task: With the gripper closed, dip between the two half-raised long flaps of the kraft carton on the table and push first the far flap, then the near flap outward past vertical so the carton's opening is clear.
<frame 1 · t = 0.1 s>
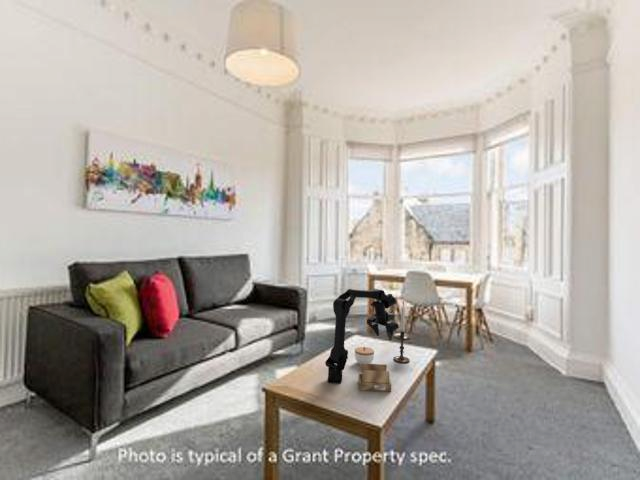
hand: (384, 338, 192), 15 cm above the table, tool pointing down, fingers open, 9 cm apart
carton: (374, 386, 167), on the table
candlestick: (401, 360, 201), on the table
lidded jar: (363, 364, 195), on the table
near flap: (375, 376, 162), point 7 cm above the table, hinge at 72.0°
far flap: (373, 368, 171), point 7 cm above the table, hinge at 72.0°
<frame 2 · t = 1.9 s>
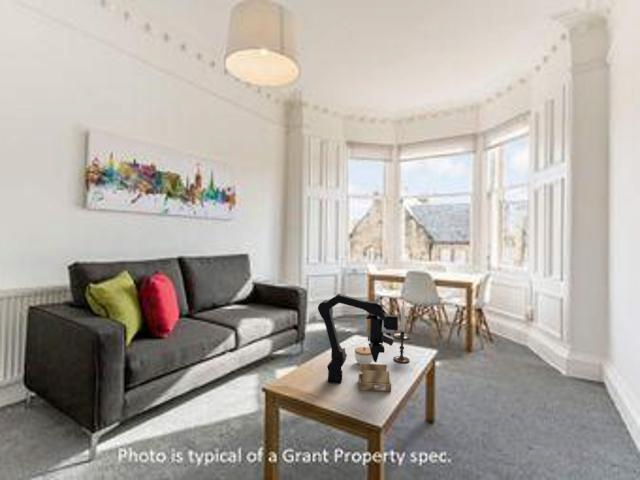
hand: (375, 361, 166), 12 cm above the table, tool pointing down, fingers closed
nothing on the table moved.
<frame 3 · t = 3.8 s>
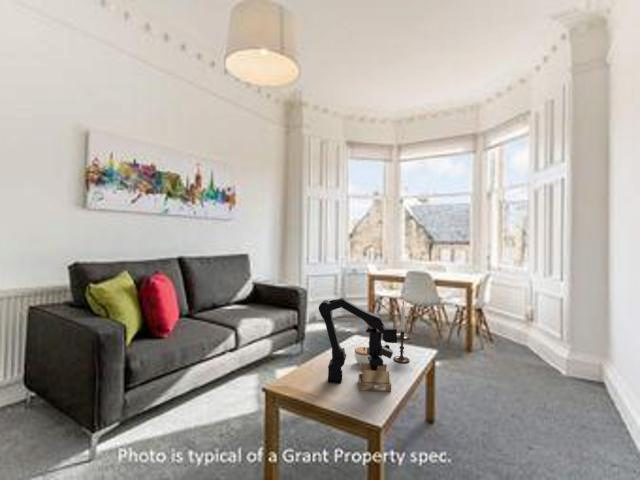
hand: (374, 373, 169), 5 cm above the table, tool pointing down, fingers closed
far flap: (373, 368, 171), point 7 cm above the table, hinge at 75.9°, touching gripper
everything else where it was.
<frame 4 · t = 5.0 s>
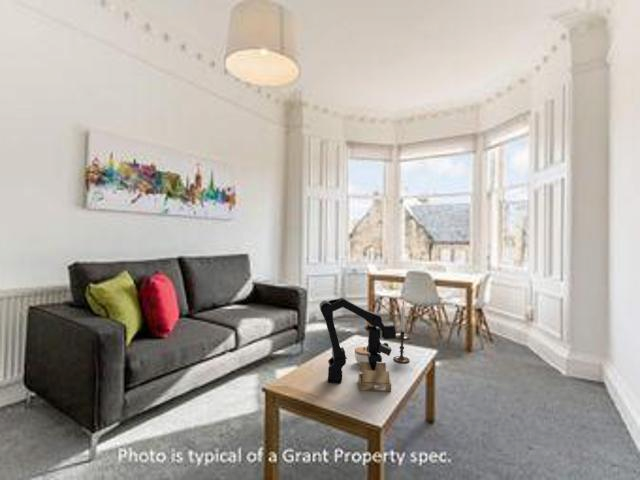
hand: (373, 370, 173), 5 cm above the table, tool pointing down, fingers closed, pressing on far flap
far flap: (373, 367, 174), point 6 cm above the table, hinge at 125.5°, touching gripper
everything else where it was.
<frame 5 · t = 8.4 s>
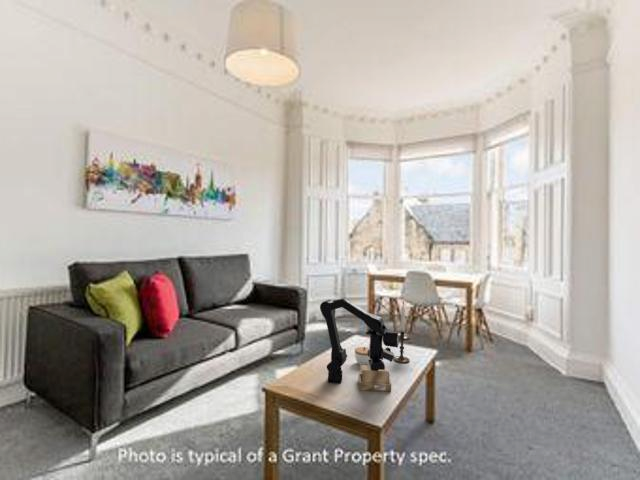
hand: (375, 377, 165), 5 cm above the table, tool pointing down, fingers closed
near flap: (375, 376, 162), point 7 cm above the table, hinge at 75.3°, touching gripper
far flap: (372, 369, 175), point 5 cm above the table, hinge at 158.0°
everything else where it was.
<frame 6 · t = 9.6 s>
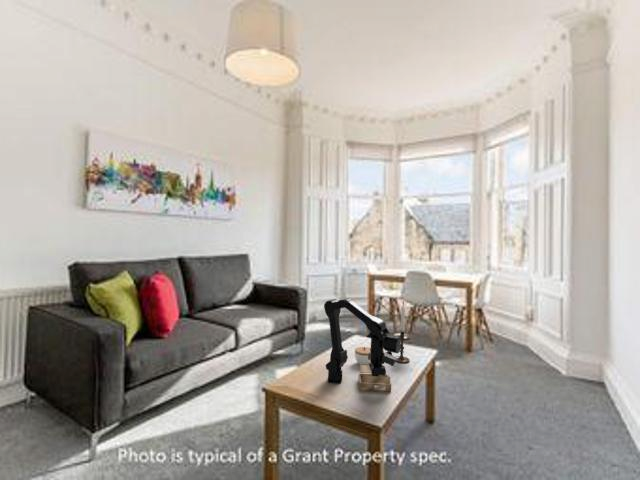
hand: (375, 381, 160), 5 cm above the table, tool pointing down, fingers closed, pressing on near flap
near flap: (376, 379, 159), point 6 cm above the table, hinge at 124.2°, touching gripper
everything else where it was.
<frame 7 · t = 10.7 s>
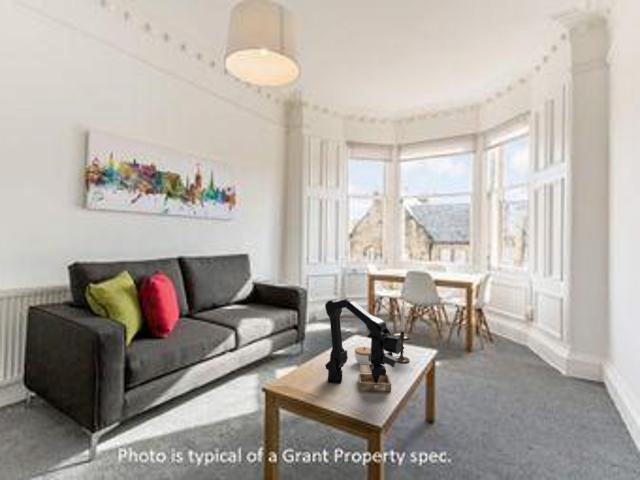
hand: (376, 382, 158), 5 cm above the table, tool pointing down, fingers closed
near flap: (376, 383, 158), point 5 cm above the table, hinge at 158.2°
everything else where it was.
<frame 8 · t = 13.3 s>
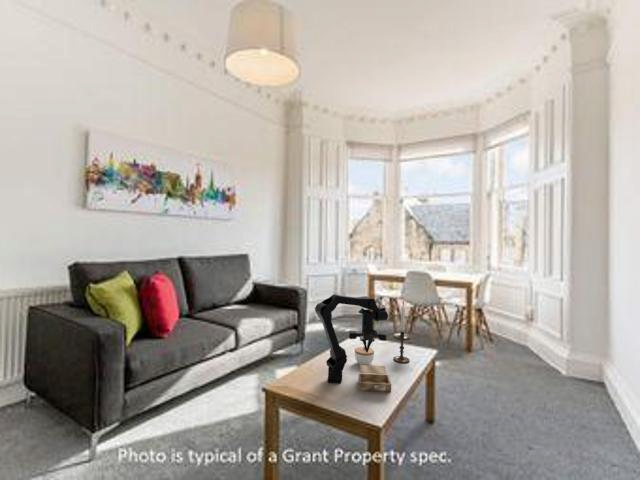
hand: (366, 352, 178), 12 cm above the table, tool pointing down, fingers closed
nothing on the table moved.
at the end: far flap at +158° (first picture: +72°); near flap at +158° (first picture: +72°) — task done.
